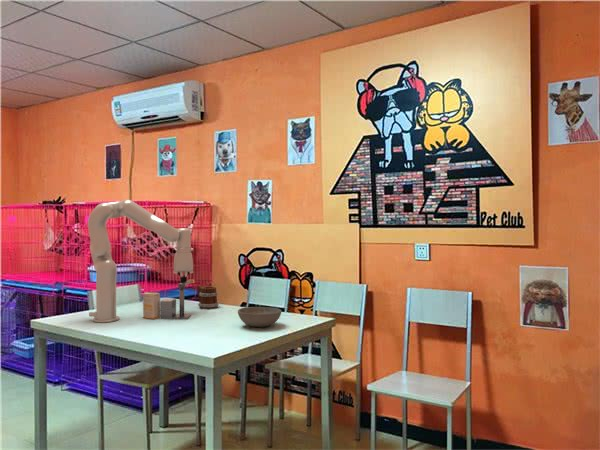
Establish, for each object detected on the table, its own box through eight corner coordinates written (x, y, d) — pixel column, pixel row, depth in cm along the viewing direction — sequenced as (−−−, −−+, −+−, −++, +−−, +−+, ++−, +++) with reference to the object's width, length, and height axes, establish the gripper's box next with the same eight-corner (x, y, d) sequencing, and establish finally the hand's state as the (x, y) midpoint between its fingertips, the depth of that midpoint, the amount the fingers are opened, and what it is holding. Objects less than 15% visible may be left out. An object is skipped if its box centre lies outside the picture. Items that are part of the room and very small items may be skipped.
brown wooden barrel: (208, 309, 274) (205, 283, 276) (192, 311, 283) (189, 286, 284) (223, 306, 284) (220, 281, 285) (207, 308, 292) (204, 283, 293)
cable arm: (188, 282, 272) (188, 279, 272) (194, 282, 272) (194, 279, 272) (177, 287, 251) (177, 283, 251) (184, 287, 251) (184, 283, 251)
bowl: (232, 323, 238) (232, 307, 238) (272, 320, 247) (272, 304, 247) (245, 332, 219) (245, 315, 219) (287, 328, 227) (287, 311, 227)
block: (160, 318, 250) (160, 301, 250) (165, 315, 258) (164, 298, 258) (171, 318, 250) (171, 301, 250) (176, 315, 258) (176, 298, 258)
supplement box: (160, 317, 253) (160, 292, 253) (153, 319, 249) (153, 294, 249) (150, 316, 258) (149, 291, 258) (142, 317, 254) (142, 292, 254)
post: (172, 319, 249) (171, 289, 249) (176, 316, 257) (176, 287, 257) (187, 319, 249) (187, 289, 249) (191, 316, 257) (191, 287, 257)
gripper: (195, 250, 272) (195, 282, 272) (168, 250, 266) (168, 283, 266) (198, 250, 265) (198, 284, 265) (170, 251, 259) (170, 285, 259)
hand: (183, 283), depth 266 cm, fingers closed
